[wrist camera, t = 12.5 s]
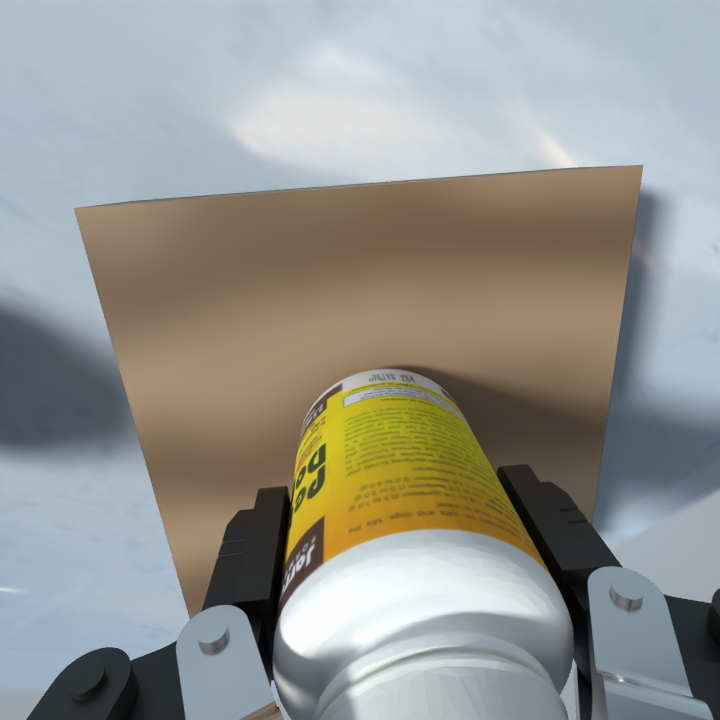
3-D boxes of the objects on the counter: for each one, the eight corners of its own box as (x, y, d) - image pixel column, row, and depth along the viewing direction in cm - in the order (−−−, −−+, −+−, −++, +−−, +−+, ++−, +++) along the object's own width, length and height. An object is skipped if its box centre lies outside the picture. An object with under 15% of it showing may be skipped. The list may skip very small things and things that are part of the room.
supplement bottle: (303, 355, 14) (251, 698, 5) (476, 368, 15) (729, 699, 6) (294, 502, 16) (245, 945, 7) (447, 509, 17) (596, 930, 8)
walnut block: (131, 201, 17) (73, 208, 13) (575, 167, 17) (643, 165, 13) (214, 551, 22) (191, 625, 19) (542, 519, 23) (583, 585, 19)
